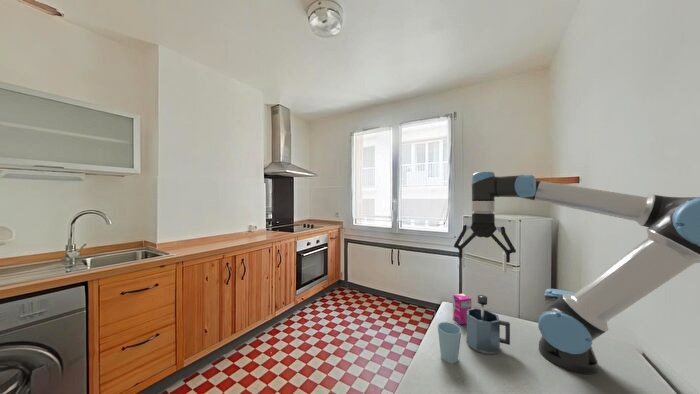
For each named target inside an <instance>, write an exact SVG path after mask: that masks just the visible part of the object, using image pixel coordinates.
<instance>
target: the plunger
mask: <svg viewBox="0 0 700 394" xmlns="http://www.w3.org/2000/svg"><path fill="white" fill-rule="evenodd" d="M477 304H479V305H480V309H481V320H482V321H484V310H485V306H487V305H488V296H486V295H483V294H478V295H477Z"/></svg>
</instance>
